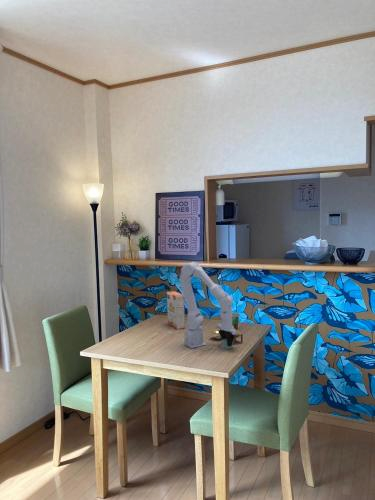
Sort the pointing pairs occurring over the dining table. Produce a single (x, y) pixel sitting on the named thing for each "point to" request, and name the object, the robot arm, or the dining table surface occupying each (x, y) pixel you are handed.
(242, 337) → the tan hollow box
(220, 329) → the balance
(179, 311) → the cracker box
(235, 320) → the food container
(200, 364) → the dining table surface
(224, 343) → the block
